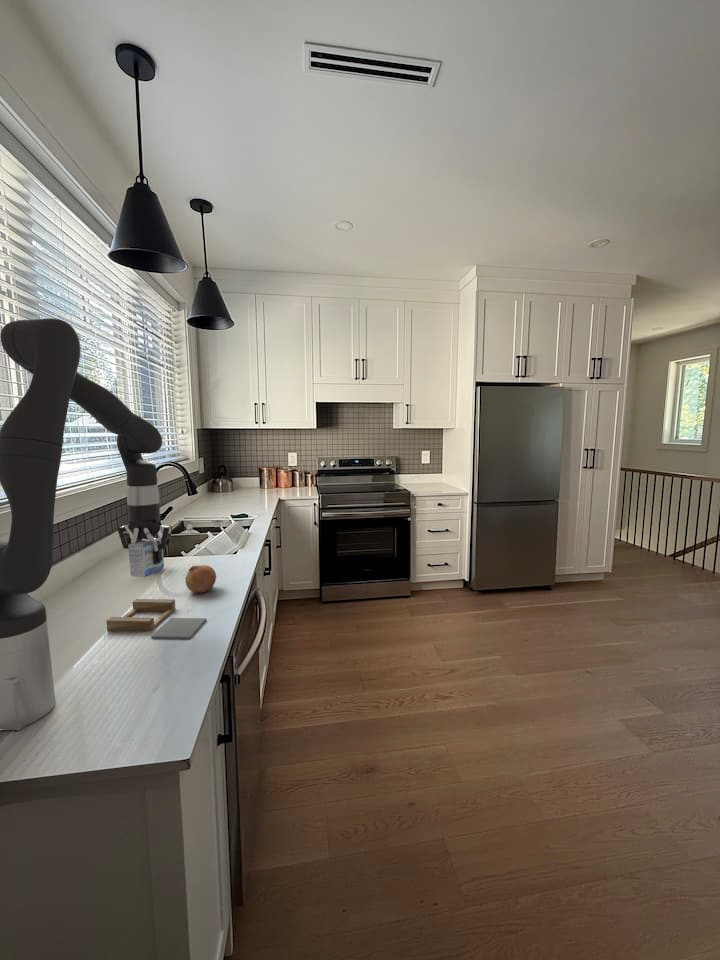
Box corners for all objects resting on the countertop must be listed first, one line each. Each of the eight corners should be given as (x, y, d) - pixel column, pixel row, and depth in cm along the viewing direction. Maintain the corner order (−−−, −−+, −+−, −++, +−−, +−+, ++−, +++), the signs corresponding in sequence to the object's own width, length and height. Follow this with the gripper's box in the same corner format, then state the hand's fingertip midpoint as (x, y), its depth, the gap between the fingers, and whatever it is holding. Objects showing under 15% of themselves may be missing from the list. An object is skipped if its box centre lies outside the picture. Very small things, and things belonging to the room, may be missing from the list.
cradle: (150, 631, 104) (149, 621, 103) (107, 631, 104) (106, 620, 104) (175, 609, 117) (174, 599, 117) (137, 608, 117) (136, 598, 117)
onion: (190, 602, 129) (173, 578, 126) (206, 584, 137) (191, 561, 134) (211, 596, 125) (194, 571, 122) (227, 578, 134) (211, 554, 131)
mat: (190, 639, 100) (189, 636, 100) (151, 638, 101) (151, 636, 100) (206, 620, 110) (206, 618, 110) (171, 619, 110) (171, 617, 110)
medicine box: (144, 577, 103) (142, 545, 102) (129, 576, 104) (127, 544, 103) (164, 567, 111) (163, 537, 110) (150, 566, 111) (148, 536, 110)
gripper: (107, 504, 101) (112, 568, 103) (163, 504, 101) (166, 568, 103) (125, 499, 109) (129, 559, 111) (176, 499, 109) (180, 559, 111)
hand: (147, 563), depth 107 cm, fingers closed on medicine box, 5 cm apart
